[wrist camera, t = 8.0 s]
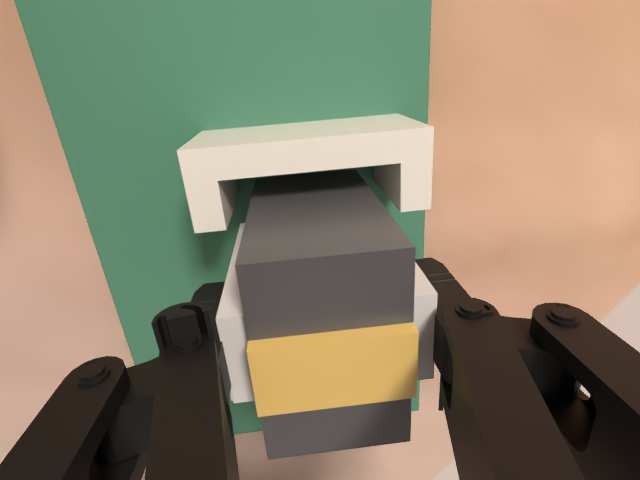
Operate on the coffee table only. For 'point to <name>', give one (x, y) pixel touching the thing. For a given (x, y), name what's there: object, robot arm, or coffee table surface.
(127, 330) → the board
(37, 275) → the coffee table surface
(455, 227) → the coffee table surface
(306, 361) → the plug
